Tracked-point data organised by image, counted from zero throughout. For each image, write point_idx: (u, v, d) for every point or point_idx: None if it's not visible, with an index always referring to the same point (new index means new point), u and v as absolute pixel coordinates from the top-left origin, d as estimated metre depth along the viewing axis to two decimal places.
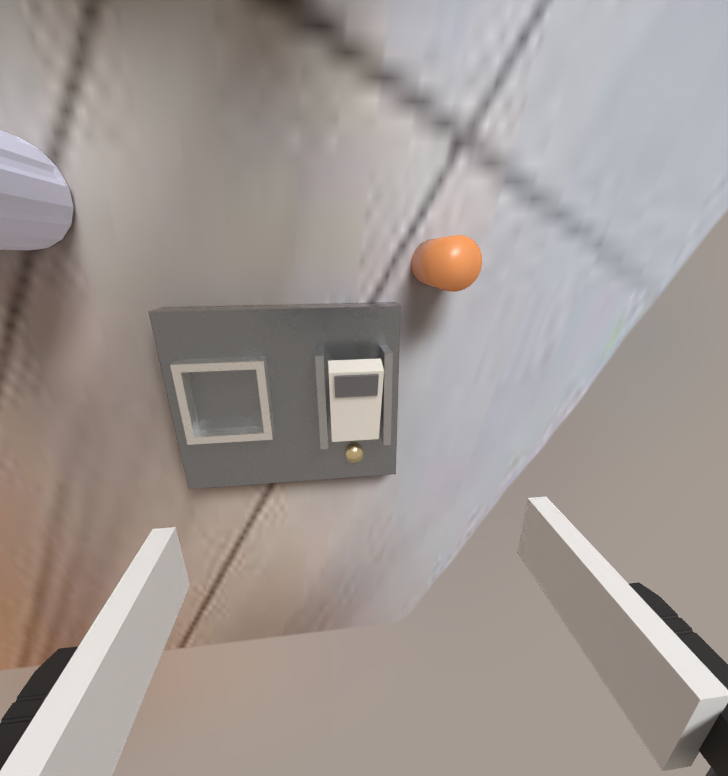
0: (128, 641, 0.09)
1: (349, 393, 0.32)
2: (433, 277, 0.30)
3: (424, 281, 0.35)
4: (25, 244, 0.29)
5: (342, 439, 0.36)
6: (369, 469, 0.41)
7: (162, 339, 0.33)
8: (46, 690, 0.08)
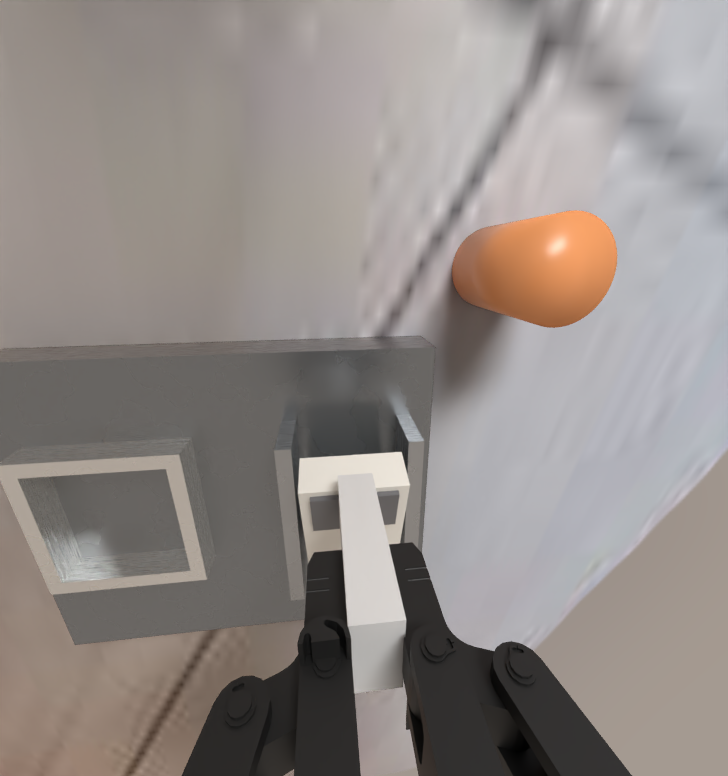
0: None
1: None
2: (514, 299, 0.15)
3: (479, 302, 0.19)
4: None
5: None
6: None
7: None
8: (325, 575, 0.11)
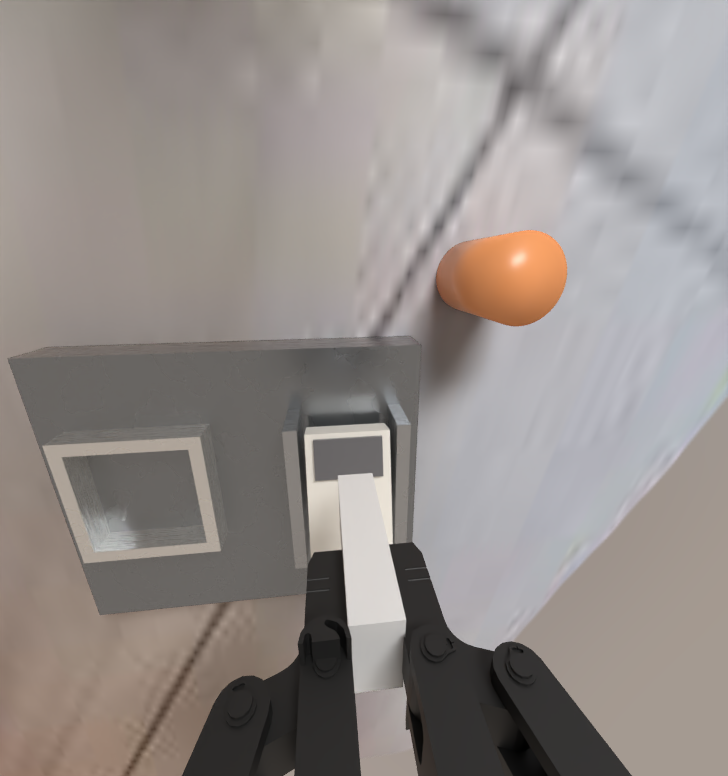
0: None
1: (338, 472, 0.20)
2: (482, 303, 0.18)
3: (459, 306, 0.22)
4: None
5: None
6: None
7: (35, 401, 0.21)
8: (325, 575, 0.11)
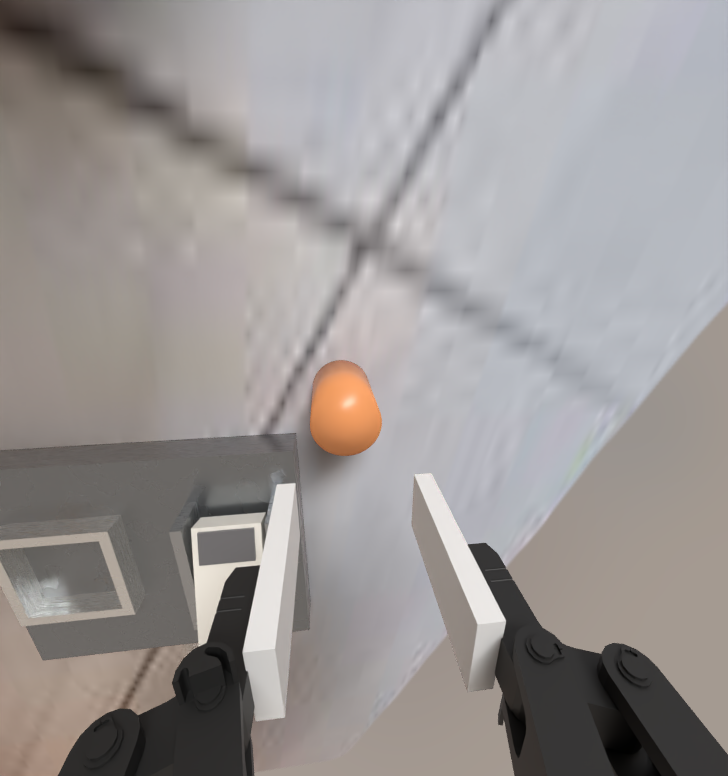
0: (289, 562, 0.11)
1: (217, 558, 0.25)
2: (316, 440, 0.22)
3: None
4: None
5: None
6: None
7: None
8: (240, 593, 0.10)
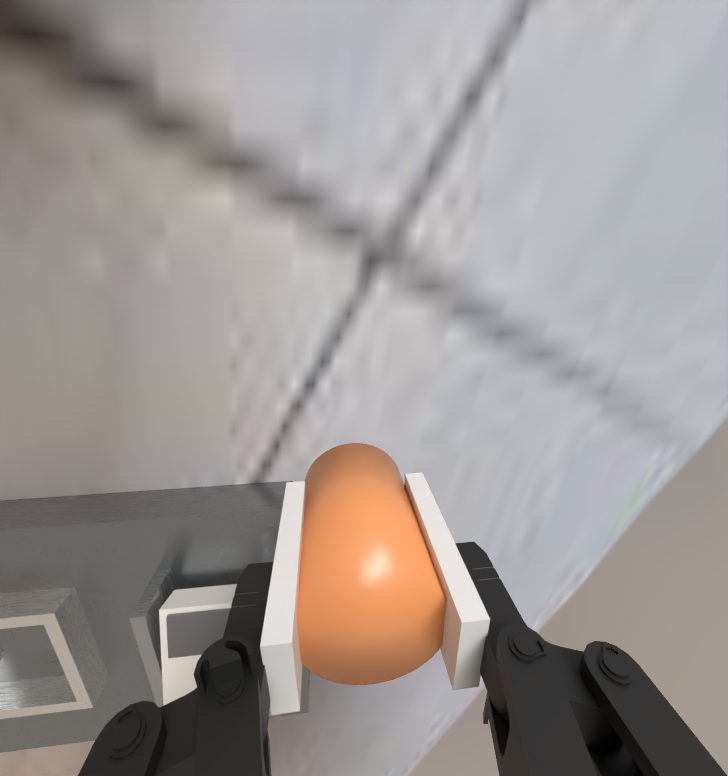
0: None
1: (192, 648, 0.20)
2: (307, 663, 0.10)
3: None
4: None
5: None
6: None
7: None
8: (254, 589, 0.10)
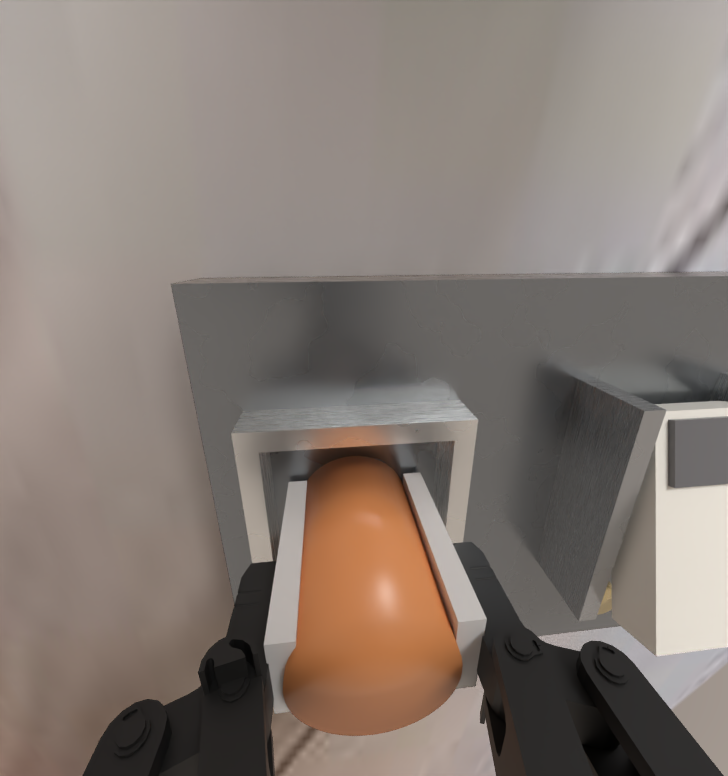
0: None
1: (709, 473, 0.12)
2: (299, 714, 0.09)
3: None
4: None
5: (684, 645, 0.13)
6: (609, 617, 0.20)
7: (206, 360, 0.12)
8: (257, 588, 0.10)
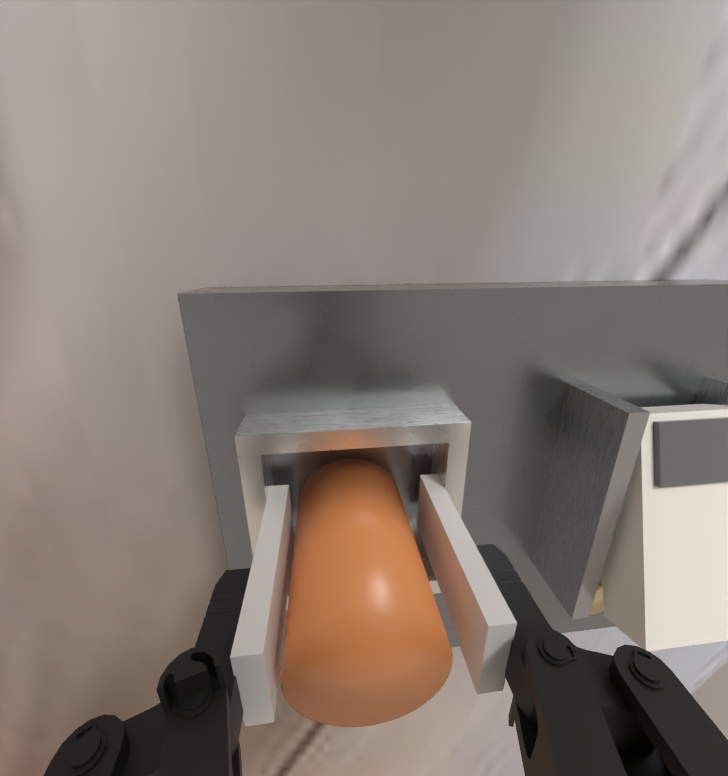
0: (280, 565, 0.11)
1: (693, 473, 0.13)
2: (297, 705, 0.09)
3: None
4: None
5: (672, 640, 0.13)
6: (604, 618, 0.21)
7: (210, 366, 0.13)
8: (231, 596, 0.10)
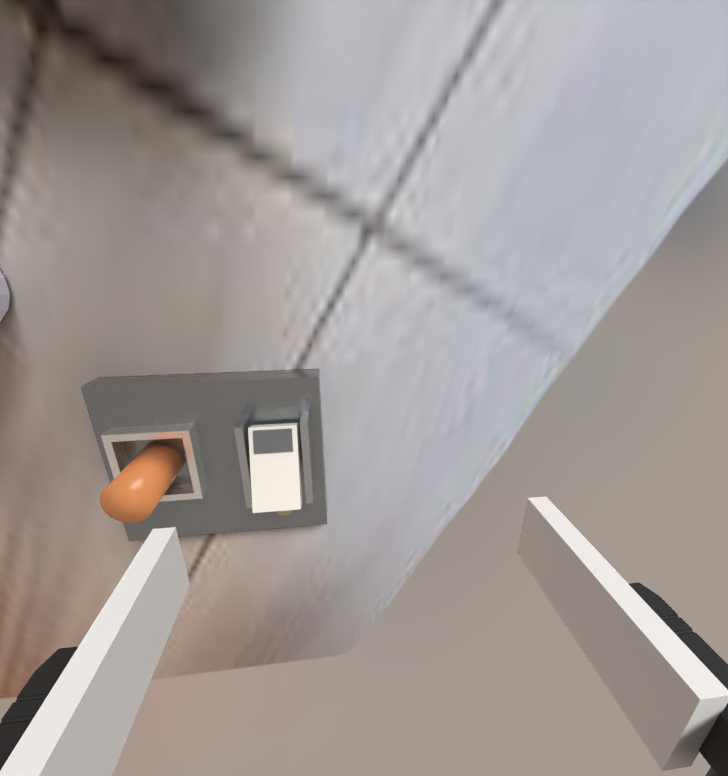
0: (128, 641, 0.09)
1: (266, 448, 0.36)
2: (108, 513, 0.33)
3: None
4: None
5: (263, 509, 0.36)
6: (301, 520, 0.44)
7: (95, 410, 0.36)
8: (46, 690, 0.08)
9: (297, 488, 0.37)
